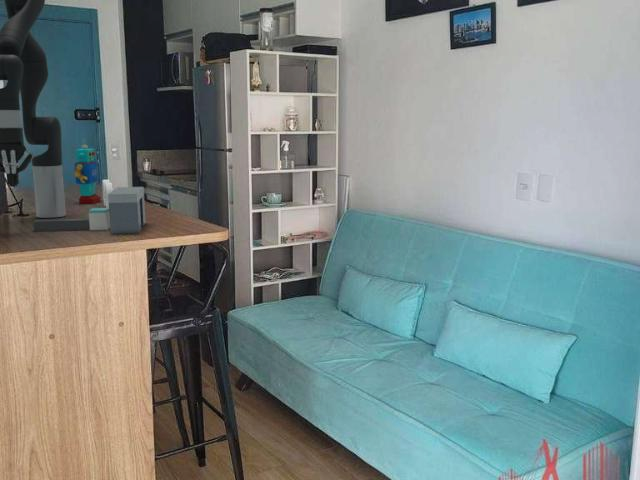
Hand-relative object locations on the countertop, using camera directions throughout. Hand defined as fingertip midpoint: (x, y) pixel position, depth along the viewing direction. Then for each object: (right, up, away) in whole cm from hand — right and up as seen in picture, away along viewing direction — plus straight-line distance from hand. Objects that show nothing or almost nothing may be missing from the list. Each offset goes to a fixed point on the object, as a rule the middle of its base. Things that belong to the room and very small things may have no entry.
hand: (13, 186), depth 186 cm
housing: (+32, -12, +8) cm, 35 cm away
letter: (+11, -4, +50) cm, 52 cm away
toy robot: (-1, -1, +65) cm, 65 cm away
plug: (+15, -13, +5) cm, 20 cm away
